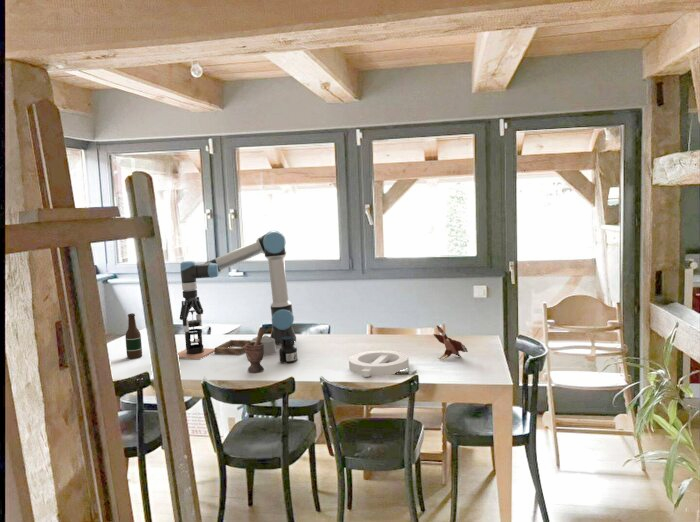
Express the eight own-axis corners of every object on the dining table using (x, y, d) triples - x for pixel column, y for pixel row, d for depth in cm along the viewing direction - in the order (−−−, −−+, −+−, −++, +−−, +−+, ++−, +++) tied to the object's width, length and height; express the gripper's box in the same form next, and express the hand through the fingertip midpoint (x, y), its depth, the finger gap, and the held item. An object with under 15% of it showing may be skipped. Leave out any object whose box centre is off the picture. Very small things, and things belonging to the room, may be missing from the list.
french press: (194, 349, 315) (191, 308, 313) (208, 350, 312) (205, 308, 309) (180, 354, 304) (177, 312, 302) (195, 355, 301) (191, 313, 299)
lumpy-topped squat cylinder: (257, 349, 311) (256, 334, 311) (279, 350, 307) (278, 335, 306) (248, 354, 302) (247, 338, 301) (270, 355, 297) (269, 339, 297)
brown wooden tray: (256, 345, 321) (256, 340, 321) (241, 354, 303) (241, 348, 303) (231, 345, 325) (230, 339, 325) (214, 353, 307) (214, 348, 307)
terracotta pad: (217, 350, 314) (217, 348, 314) (200, 359, 297) (200, 357, 297) (188, 349, 319) (188, 348, 319) (170, 358, 301) (170, 356, 301)
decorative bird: (413, 348, 284) (422, 320, 285) (443, 357, 291) (451, 330, 292) (443, 362, 258) (453, 330, 258) (474, 371, 264) (484, 341, 265)
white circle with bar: (364, 380, 249) (363, 369, 249) (340, 365, 275) (340, 355, 274) (419, 370, 260) (419, 360, 259) (391, 356, 285) (391, 347, 285)
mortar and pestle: (252, 366, 278) (250, 326, 277) (269, 366, 277) (267, 326, 275) (244, 373, 267) (241, 331, 265) (261, 373, 266) (259, 331, 264)
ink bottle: (290, 364, 278) (288, 340, 277) (275, 363, 283) (274, 339, 282) (301, 359, 287) (300, 336, 286) (287, 358, 291) (285, 335, 290)
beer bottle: (145, 355, 310) (141, 312, 307) (135, 359, 302) (132, 315, 300) (133, 355, 312) (130, 312, 310) (124, 359, 305) (120, 315, 303)
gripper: (195, 286, 317) (198, 323, 319) (170, 293, 293) (174, 334, 295) (207, 286, 315) (210, 323, 317) (183, 293, 291) (186, 334, 293)
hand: (193, 328), depth 306 cm, fingers open, 13 cm apart
